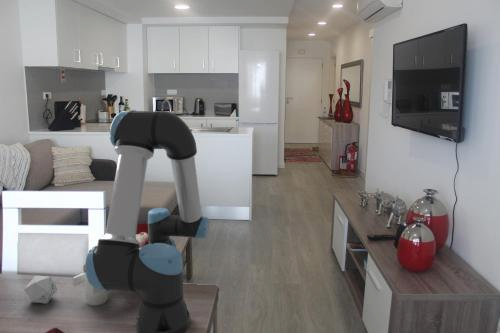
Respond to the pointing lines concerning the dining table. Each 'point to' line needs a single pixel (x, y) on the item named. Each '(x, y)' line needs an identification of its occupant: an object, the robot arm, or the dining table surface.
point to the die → (40, 289)
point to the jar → (94, 298)
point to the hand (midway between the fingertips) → (82, 285)
